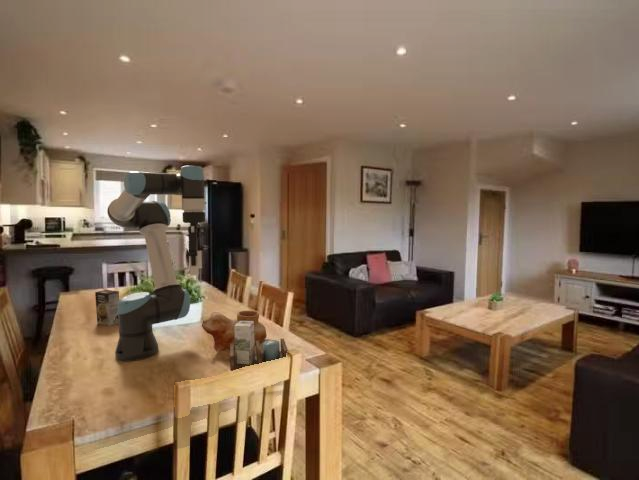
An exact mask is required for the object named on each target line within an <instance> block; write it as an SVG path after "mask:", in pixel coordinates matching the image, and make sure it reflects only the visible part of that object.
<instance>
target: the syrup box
mask: <svg viewBox="0 0 639 480" xmlns="http://www.w3.org/2000/svg"><path fill="white" fill-rule="evenodd" d="M234 329H235V349H234V356H236V364H241V365H251V364H252V362H253V361H254V359H255V354H256V347H255V345H254V321H238V322H237V323H236V324H235V326H234Z"/></svg>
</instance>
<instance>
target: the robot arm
mask: <svg viewBox="0 0 639 480" xmlns="http://www.w3.org/2000/svg"><path fill="white" fill-rule="evenodd" d="M123 186H124V190H123V191H122V192H121V193H120V195H119V196H118V197H117V198H115V199H113V200H112V201H110V203H109V204H108V207H107V212H106V213H107V215H108V218H109V220H110V221H111V222H112V223H113V224H115V225H116V226H118V227H121V228H125V229H138V231H139V234H140V235H142V236H144V240H145V246H146V249H147V250H146V251H147V254H148V259H149V264H150V269H151V273H152V277H153V283H154V288H153V289H152V291H151V292H152V294H151V293H150V292H148V291H142V292H140V291H139V292H135V293H131V294H128V295H125V296H123V297H122V298H119V302H118V311H117V313H118V322H119V323H118V331H119V332H118V333H119V335H118V336H119V338H118V341H117V344H116V347H115V351H114V354H115V359H116V360H118V361H121V362H133V361H134V362H135V361H139V360H140V361H141V360H144V359H147V358H150V357H152V356H154V355H156V354H157V353H158V352H159V343H158V341H157V339H156V336H155V334H154V331H153V325H156V324H160V323H166V322H171V321H175V320H179V319H183V318H186V316H187V315H188V314H189V312H190V307H191V297H190V292H189V291H188V289H184V288H183V287H182V284H181V283H179V282H178V280H177V277H176V274H175V269H174V264H173V260H172V255H171V251H170V247H169V246H170V245H169V242H168V238H167V234H166V232H167V231H168V229H169V226H170V225H171V222H172V221H171V212H170V209H169V207H168V206H167V204H166V203H165V202H163V201H159V200H158V201H157V200H151V201H150V200H149V201H145V200H147V198H148V197H150V195H163V196H164V195H169V196H170V195H171V196H173V195H174V196H181V210H182V211H183V212H182V222H183V223H184V224H189V225H188V228H187V232H188V252H187V253H186V256H187V257H188V261H189V262H188V263H189V276H199V275H200V273H199V270H200V269H202V268H203V263H202V251H204V247H202V240H201V237H202V231H201V230H202V228H201V224H200V223H205V222H206V221H207V220H206V212H205V210H206V206H205V205H207V201H205V197H206V196H205V175H204V168H203V167H202V166H199V165H183V166H181V167H180V172H179V173H167V172H147V171H140V170H139V171H138V170H137V171H128V172H126V173H125V174H124V179H123Z"/></svg>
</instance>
